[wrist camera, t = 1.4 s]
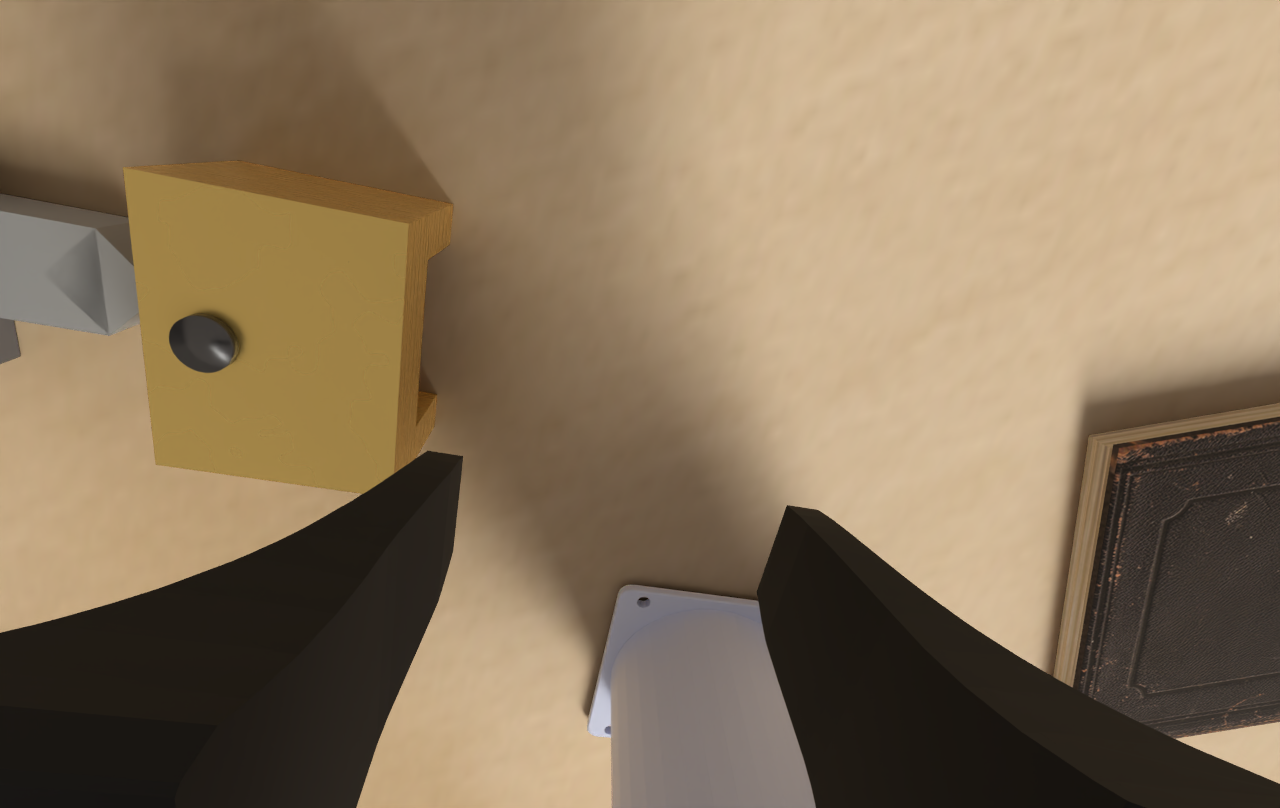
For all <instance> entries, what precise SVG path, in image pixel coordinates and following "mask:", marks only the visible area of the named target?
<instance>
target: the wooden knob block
mask: <svg viewBox="0 0 1280 808" xmlns="http://www.w3.org/2000/svg"><path fill="white" fill-rule="evenodd" d="M123 173H124V182H125V191H126V200H127V209H128V218H129V227H130V236H131V245H132V254H133V263H134V272H135V281H136V290H137V299H138V308H139V317H140V327H141V336H142V345H143V354H144V363H145V372H146V381H147V390H148V399H149V408H150V417H151V426H152V435H153V444H154V453H155V462H156V465H162V466H169V467H176V468H183V469H190V470H197V471H204V472H212V473H219V474H226V475H233V476H240V477H247V478H254V479H261V480H269V481H276V482H283V483H290V484H297V485H304V486H311V487H318V488H326V489H333V490H340V491H347V492H354V493H361V494H364V493H365V492H367V491H368V490H370V489H371V488H373V487H374V486H376V485H378V484H379V483H381V482H382V481H384V480H385V479H387V478H388V477H389V476H391V475H392V474H394V473H395V472H397V471H398V470H400V469H401V468H403V467H404V466H406V465H407V464H409V463H410V462H411V461H413V460H414V459H416V457H417V455H418V453H419V452H420V450H421V448H422V447H423V445H424V443H425V441H426V440H427V438H428V436H429V435H430V433H431V431H432V429H433V428H434V425H435V414H436V402H437V394H432V393H426V392H420V391H418V388H419V374H420V360H421V346H422V332H423V319H424V305H425V291H426V277H427V263H428V259H430V258H431V257H433V256H434V255H436V254H437V253H439V252H440V251H441V250H443V249H444V248H446V247H447V246H449V245H450V237H451V225H452V213H453V204H450V203H445V202H440V201H436V200H431V199H426V198H421V197H416V196H411V195H406V194H401V193H396V192H391V191H386V190H381V189H376V188H372V187H367V186H362V185H357V184H352V183H347V182H342V181H337V180H332V179H327V178H322V177H317V176H312V175H308V174H303V173H298V172H293V171H288V170H283V169H278V168H273V167H268V166H263V165H258V164H253V163H248V162H244V161H239V160H237V161H221V162H204V163H188V164H171V165H155V166H138V167H123Z"/></svg>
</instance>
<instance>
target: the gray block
mask: <svg viewBox="0 0 1280 808" xmlns="http://www.w3.org/2000/svg"><path fill="white" fill-rule="evenodd" d="M14 320H16V321H23V322H29V323H35V324H41V325H47V326H53V327H59V328H65V329H71V330H77V331H83V332H90V333H96V334H102V335H108V336H110V335H113V334H115V333H118V332H120V331H123V330H125V329H128V328H130V327H133V326H135V325H138V324H140V317H139V308H138V299H137V290H136V281H135V272H134V263H133V254H132V245H131V236H130V227H129V218H128V217H123V216H118V215H112V214H107V213H102V212H96V211H91V210H86V209H80V208H75V207H70V206H64V205H59V204H54V203H48V202H43V201H38V200H32V199H27V198H22V197H16V196H11V195H6V194H1V193H0V364H2V363H4V362H7V361H10V360H12V359H15V358H18V357H20V350H19V345H18V340H17V335H16V330H15V324H14Z"/></svg>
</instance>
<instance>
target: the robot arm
mask: <svg viewBox="0 0 1280 808" xmlns="http://www.w3.org/2000/svg"><path fill="white" fill-rule="evenodd" d="M462 462H463V456H458V455H451V454H445V453H438V452H431V451H427V452H425V453H424V454H422V455H421V456H419V457H418V458H416V459H414V460H413V461H411V462H410V463H409V464H407V465H406V466H404V467H403V468H401V469H400V470H398V471H397V472H395V473H394V474H392V475H391V476H389V477H388V478H387V479H385V480H384V481H382V482H381V483H379V484H378V485H376V486H374V487H373V488H371V489H370V490H368V491H367V492H365V493H364V494H362V495H360V496H359V497H357V498H356V499H354V500H353V501H351V502H349V503H348V504H346V505H344V506H342V507H341V508H339V509H337V510H335V511H334V512H332V513H330V514H328V515H327V516H325V517H323V518H321V519H320V520H318V521H316V522H314V523H313V524H311V525H309V526H307V527H305V528H303V529H301V530H299V531H297V532H296V533H294V534H291V535H289V536H287V537H285V538H283V539H281V540H279V541H277V542H275V543H273V544H270V545H268V546H266V547H264V548H262V549H259V550H257V551H255V552H253V553H250V554H248V555H246V556H244V557H241V558H239V559H236V560H234V561H232V562H229V563H226V564H224V565H221V566H218V567H216V568H213V569H210V570H208V571H205V572H202V573H200V574H197V575H194V576H192V577H189V578H186V579H184V580H181V581H178V582H175V583H173V584H170V585H167V586H165V587H162V588H159V589H156V590H153V591H150V592H147V593H143V594H140V595H137V596H134V597H131V598H128V599H124V600H121V601H118V602H115V603H112V604H108V605H105V606H101V607H98V608H94V609H91V610H87V611H84V612H80V613H77V614H73V615H70V616H66V617H62V618H59V619H55V620H51V621H47V622H43V623H40V624H36V625H32V626H27V627H23V628H19V629H15V630H10V631H6V632H2V633H0V808H356V806H357V803H358V800H359V797H360V794H361V791H362V788H363V785H364V782H365V779H366V776H367V773H368V770H369V767H370V764H371V761H372V758H373V755H374V752H375V749H376V746H377V743H378V741H379V738H380V736H381V733H382V730H383V728H384V725H385V723H386V720H387V718H388V715H389V713H390V711H391V709H392V706H393V704H394V702H395V699H396V697H397V695H398V693H399V690H400V688H401V686H402V683H403V681H404V679H405V677H406V674H407V672H408V670H409V668H410V665H411V663H412V661H413V658H414V656H415V654H416V652H417V649H418V647H419V645H420V643H421V640H422V638H423V636H424V633H425V631H426V629H427V626H428V624H429V622H430V620H431V617H432V615H433V613H434V610H435V608H436V606H437V603H438V601H439V597H440V594H441V591H442V587H443V584H444V581H445V577H446V574H447V571H448V567H449V564H450V560H451V557H452V553H453V546H454V537H455V528H456V518H457V509H458V500H459V490H460V481H461V472H462ZM757 596H758V601H757V600H749V599H741V598H733V597H726V596H718V595H710V594H702V593H695V592H687V591H679V590H672V589H664V588H656V587H648V586H641V585H626V586H623V587H622V588H621V589H620V590H619V592H618V596H617V600H616V604H615V608H614V612H613V617H612V621H611V625H610V629H609V633H608V637H607V642H606V646H605V650H604V654H603V658H602V663H601V667H600V671H599V675H598V679H597V683H596V688H595V692H594V696H593V700H592V704H591V708H590V713H589V717H588V723H587V730H588V732H589V733H590V734H592V735H594V736H599V737H610V738H611V783H612V808H1280V784H1279V783H1276V782H1274V781H1271V780H1269V779H1267V778H1264V777H1262V776H1260V775H1257V774H1255V773H1252V772H1250V771H1248V770H1245V769H1243V768H1241V767H1238V766H1236V765H1233V764H1231V763H1229V762H1226V761H1224V760H1222V759H1219V758H1217V757H1214V756H1212V755H1210V754H1207V753H1205V752H1203V751H1200V750H1198V749H1195V748H1193V747H1191V746H1189V745H1187V744H1184V743H1182V742H1180V741H1178V740H1176V739H1174V738H1172V737H1170V736H1167V735H1165V734H1163V733H1161V732H1159V731H1157V730H1155V729H1153V728H1151V727H1149V726H1147V725H1144V724H1142V723H1140V722H1138V721H1136V720H1134V719H1132V718H1130V717H1128V716H1126V715H1124V714H1122V713H1120V712H1118V711H1116V710H1114V709H1112V708H1110V707H1108V706H1106V705H1104V704H1102V703H1100V702H1098V701H1096V700H1094V699H1093V698H1091V697H1089V696H1087V695H1085V694H1083V693H1082V692H1080V691H1078V690H1076V689H1074V688H1073V687H1071V686H1069V685H1067V684H1065V683H1063V682H1062V681H1060V680H1058V679H1056V678H1054V677H1053V676H1051V675H1049V674H1047V673H1045V672H1044V671H1042V670H1040V669H1039V668H1037V667H1035V666H1033V665H1032V664H1030V663H1028V662H1027V661H1025V660H1023V659H1022V658H1020V657H1018V656H1017V655H1015V654H1014V653H1012V652H1010V651H1009V650H1007V649H1006V648H1004V647H1003V646H1001V645H1000V644H998V643H996V642H995V641H993V640H992V639H990V638H989V637H987V636H985V635H984V634H982V633H981V632H979V631H978V630H976V629H975V628H973V627H972V626H970V625H969V624H967V623H966V622H964V621H963V620H962V619H960V618H959V617H957V616H956V615H954V614H953V613H952V612H950V611H949V610H948V609H946V608H945V607H944V606H942V605H941V604H939V603H938V602H937V601H935V600H934V599H933V598H931V597H930V596H928V595H927V594H926V593H924V592H923V591H922V590H921V589H919V588H918V587H917V586H915V585H914V584H913V583H911V582H910V581H909V580H908V579H906V578H905V577H904V576H902V575H901V574H900V573H899V572H897V571H896V570H895V569H894V568H892V567H891V566H890V565H889V564H887V563H886V562H885V561H884V560H882V559H881V558H880V557H879V556H878V555H876V554H875V553H874V552H873V551H871V550H870V549H869V548H868V547H866V546H865V545H864V544H863V543H861V542H860V541H859V540H858V539H857V538H855V537H854V536H853V535H852V534H850V533H849V532H848V531H846V530H845V529H844V528H843V527H841V526H840V525H839V524H837V523H836V522H835V521H833V520H832V519H831V518H829V517H828V516H826V515H825V514H823V513H822V512H820V511H819V510H815V509H808V508H801V507H795V506H788V505H787V507H786V510H785V512H784V515H783V518H782V521H781V524H780V527H779V530H778V533H777V535H776V538H775V541H774V544H773V547H772V550H771V553H770V556H769V558H768V561H767V564H766V567H765V570H764V573H763V576H762V579H761V582H760V584H759V587H758V590H757ZM641 597H647V598H649V599H647V600H645V601H641V600H638V599H639V598H641Z"/></svg>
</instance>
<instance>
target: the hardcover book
mask: <svg viewBox="0 0 1280 808" xmlns="http://www.w3.org/2000/svg"><path fill="white" fill-rule="evenodd" d="M1053 677H1054V678H1056V679H1058V680H1060V681H1062V682H1063V683H1065V684H1067V685H1069V686H1071V687H1073V688H1074V689H1076V690H1078V691H1080V692H1082V693H1083V694H1085V695H1087V696H1089V697H1091V698H1093V699H1094V700H1096V701H1098V702H1100V703H1102V704H1104V705H1106V706H1108V707H1110V708H1112V709H1114V710H1116V711H1118V712H1120V713H1122V714H1124V715H1126V716H1128V717H1130V718H1132V719H1134V720H1136V721H1138V722H1140V723H1142V724H1144V725H1147V726H1149V727H1151V728H1153V729H1155V730H1157V731H1159V732H1161V733H1163V734H1165V735H1167V736H1170V737H1172V738H1174V739H1176V738H1182V737H1188V736H1194V735H1201V734H1207V733H1213V732H1219V731H1225V730H1231V729H1238V728H1244V727H1250V726H1256V725H1262V724H1268V723H1275V722H1280V403H1277V404H1271V405H1265V406H1259V407H1253V408H1247V409H1241V410H1235V411H1229V412H1223V413H1218V414H1212V415H1206V416H1200V417H1194V418H1188V419H1182V420H1176V421H1170V422H1164V423H1158V424H1152V425H1146V426H1140V427H1135V428H1129V429H1123V430H1117V431H1111V432H1105V433H1099V434H1093V435H1089V438H1088V445H1087V452H1086V459H1085V465H1084V472H1083V479H1082V485H1081V492H1080V499H1079V506H1078V512H1077V519H1076V526H1075V533H1074V539H1073V546H1072V553H1071V560H1070V566H1069V573H1068V580H1067V587H1066V593H1065V600H1064V607H1063V613H1062V620H1061V627H1060V634H1059V640H1058V647H1057V654H1056V661H1055V667H1054V674H1053Z"/></svg>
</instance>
